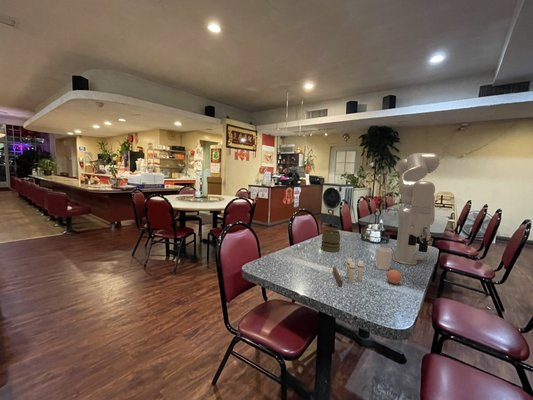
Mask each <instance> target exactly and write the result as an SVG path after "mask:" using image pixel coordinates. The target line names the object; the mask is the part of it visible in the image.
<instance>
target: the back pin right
mask: <svg viewBox="0 0 533 400" xmlns="http://www.w3.org/2000/svg"><path fill="white" fill-rule="evenodd" d="M350 262H353V258H352V257H351V258H350V257H347V259H346V270H345V271H346V273H345V278H346V279H349V266H350Z"/></svg>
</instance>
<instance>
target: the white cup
mask: <svg viewBox="0 0 533 400" xmlns="http://www.w3.org/2000/svg"><path fill="white" fill-rule="evenodd" d="M392 255H393V250H392V249H391V248H389V247H384V246H382V247H381V246H378V247H375V268H377V269H379V270H382V271H384V270H385V271H388V270H390V267H391V262H392V257H393V256H392Z"/></svg>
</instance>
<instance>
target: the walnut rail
mask: <svg viewBox="0 0 533 400" xmlns="http://www.w3.org/2000/svg"><path fill="white" fill-rule="evenodd" d="M332 274H333V275H334V278H335V280H336V283H337V284H338V287H341V288H342V287H343V279H342V278H341V275H340V273H339V271H338V269H337V267H336V266H333V267H332Z"/></svg>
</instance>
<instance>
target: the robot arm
mask: <svg viewBox="0 0 533 400" xmlns="http://www.w3.org/2000/svg"><path fill="white" fill-rule="evenodd" d="M439 165H440V156H439V154H437V153H435V152H415V153H412V154H409V156H408V157H407V158H402V159H401V160H400V161H399V162H398V173H399V179H398V193H399V194H400V196H401V203H402V204H403V205H406V206H401V207H399V209H398V212H397V221H398V226H397V237H396V248H395V255H393V256H392V257H391V260H393V261H394V262H396V263H400V264H401V265H402V264H403V265H409V266H414V265H417V264H418V260H419V261H421V260H422V261H424V260H425V257H424V256H423V255H422V256H421V255H418V254H416V250H417V248H416V247H417V241H418V240H417V238H418V239H419V241H420V242H418V252H419V253H427V252H428V246H429V243H430V240H431V237H432V234H431V232H430V231H431V226H432V225H433V224H434V222H435V217H436V215H435V214H436V213H435V212H436V211H435V209H436V207H435V205H436V204H435V203H436V201H435V199H436V198H435V192H436V186H435V185H434V183H433V182H431V181H424V180H422V179H424V178H426V176H427V175H428V174H432V173H433V172H434V171H436V170H437V169H438V167H439ZM420 180H421V181H420Z"/></svg>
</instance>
